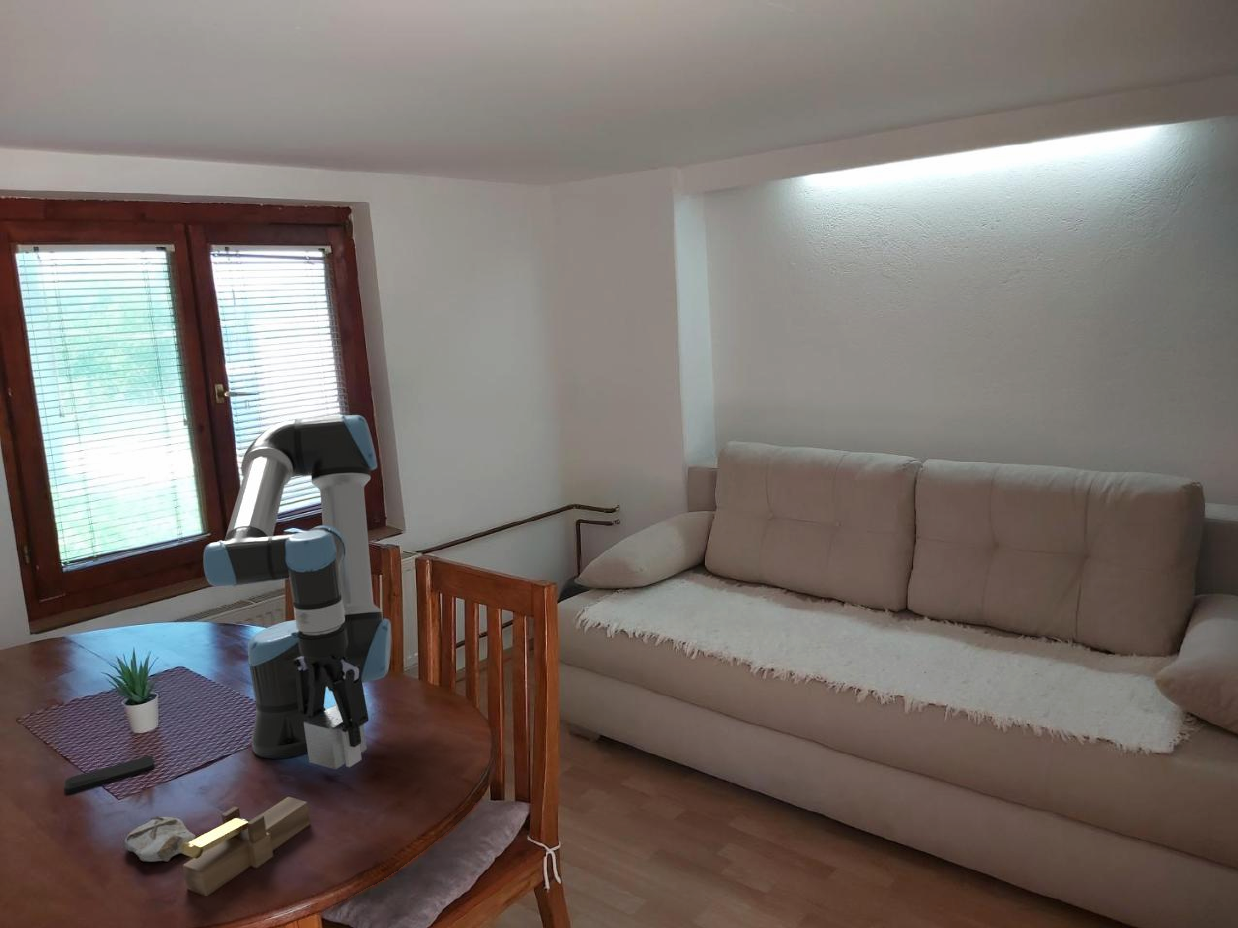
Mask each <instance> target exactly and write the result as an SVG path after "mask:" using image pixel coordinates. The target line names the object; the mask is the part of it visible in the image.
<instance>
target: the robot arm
mask: <svg viewBox="0 0 1238 928" xmlns="http://www.w3.org/2000/svg"><path fill="white" fill-rule="evenodd" d="M375 469H378V461H377V456H376V450H375V447H374V443H373V438H372V434H371V432H370V428H369V423H368V422H367V420H366V418H365V417H364V416H362V415H359V414H351V415H350V414H349V415H348V414H347V415H344V414H340V415H333V416H331V415H330V416H323V417H322V416H321V417H314V418H303V419H302V418H301V419H299V418H298V419H288V420H285V421H282V422H278V423H277V424H275V425H273V426H271V427H269V428H268V429H266V430H265V431H263V432H262V433H260V435H259V436H257V438H255V439H254V440H253V442H252V443H251V444H250V445H249V446H248V448H247V450H246V451H245V453H244V456H243V458H242V462H241V466H240V470H241V474H242V476H243V478H242V481H241V484H240V487H239V491H238V494H237V497H236V500H235V505H234V507H233V511H232V514H231V518H230V522H229V524H228V528H227V532H226V535H225V538H224V540H219V541H217V542H216V541H215V542H210V543H209V544H207V545H206V546H205V547H204V549H203V550H204V551H203V556H202V557H203V570H204V575H205V579H206V580H207V582H208V583H209V585H211V586H213V587H227V586H229V587H230V586H232V587H237V586H241V585H249V584H258V583H265V582H273V581H284V580H289V583H290V592H291V596H292V597H291V598H292V606H293V611H294V619H293V620H287V621H283V622H279V623H275V624H273V625H271V626H269V627H267V628H264V629H262V630H260V631H259V632H258V633H256V634H254V636H252V637H251V638H250V640H249V641H248V644H247V654H248V660H247V661H248V662H247V664H248V666H249V669H250V677H251V684H252V689H253V695H254V701H255V703H254V704H255V707H256V708H255V710H256V712H255V718H254V724H253V725H254V726H253V731H252V733H251V738H250V739H251V746H252V751H253V752H254V754H255V755H256V756H257V757H261V758H265V759H273V760H274V759H276V760H277V759H288V758H292V757H298V756H300V755H304V754H308V750H307V743H306V736H305V729H304V722H306V721H308V720H309V719H311V718H313V717H315V716H316V715H318V714H320V713H322V712H323V711H325V710H327V709H326V708H325V699H326V691H327V689H328V691H329V692H332V696H333V698H334V701H335V703H336V704H335V705H337V707H338V709H339V712H340V715H341V718H342V720H343V723H344V726H345V727H344V728H343V729H342V738H343V745H344V753H345V760H346V763H345V767H347V768H351V767H352V766H354V765H356V764H357V763H359V762H360V761H362V753H361V751H360V744H361V736H360V728H359V727H360V726H361V725H363V724H366V723H367V722H369V720H370V719H369V713H368V707H367V702H366V697H365V691H364V686H363V685H364V684H365V683H366V682H372V681H377V680H381V679H383V678H385V676H386V675H387V674H388V671H389V667H390V660H391V649H392V648H391V647H392V632H391V631H392V629H391V628H392V626H391V625H392V624H391V620H390V619H387V618H383V611H382V609H380V608H379V607H378V606H376V605H375V603H374V596H373V585H372V573H371V572H372V570H371V561H370V560H371V559H370V548H369V536H368V535H369V533H368V522H367V513H366V512H367V511H366V501H365V500H366V498H365V486H366V485H367V484H368V482H369V481H370V480H371V471H374V470H375ZM306 476H307V477H308V476H310V477H311V484H312V485H313V486H314V487H316V488H317V489H318V490H319V491H320V492H319V493H320V504H321V505H320V506H321V520H322V521H321V522H322V525H318V526H314V527H313V528H311V529H309V530H307V531H302V532H299V533H296V532H295V533H289V534H280V535H278V534H277V535H274V532H275V527H276V524H277V518H278V514H279V511H280V506H281V501H282V497H283V492H284V487H285V486H286V485H287V484H288V483H289V482H290V481H291V479H292V478H295V477H306ZM326 688H327V689H326ZM351 719H352V720H351ZM350 720H351V721H350Z"/></svg>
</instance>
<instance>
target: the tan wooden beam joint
mask: <svg viewBox="0 0 1238 928" xmlns="http://www.w3.org/2000/svg"><path fill="white" fill-rule="evenodd" d="M240 814H241V812H240V808H239V807H238V806H233V807H231V808H230V809H228V810H227V811H225V812H223V813H222V814H221V819H222V825H223V824H225V823H227V822H229V821H231V820H233V818H234V817H235V816H238V817H241V815H240ZM310 825H311V819H310V813H309V807H308V801H305V800H301V799H297V798H294V797H291V796H287V797H286V798H284V799H282V800H281V801H279V802H278V803H276V804H274V805H273V806H271V807H270V808H269V809H266V811H264V812H262V813H261V814H258V815H256V816H255V817H253V818H252V819H251V820H250V821H249V822H247V828H248V829H246V830H244V831H242V832H240V833H239V834H237V835H235V836H233V837H231V838H229V839H227V840H226V841H224V842H222V843H220V844H218V845H216V846H214V847H213V848H211V849H209V850H207V851H205V852H203V853H202V855H201V856H200V857H199V858H197V859H196V858H193V857H192V858H191V859H190V860H189V861H187V862H185V863H184V864H182V868H183V872H184V874H183V875H184V877H185V885H186V890H189V891H191V892H193V893H196V894H199V895H201V896H204V897H206V898H207V897H208V896H210V895H211V894H213V893H214V892H215V891H217V890H218V889H220V888H222V887H223V886H224V885H225V884H227V883H228V882H230V881H231V880H233V879H234V878H236V877H237V876H238V875H240V874H241V873H242V872H244V871H246V870H247V869H248V868H249V867H253V868H255V869H257V868H260V866H262V865H263V864H265V863H267V862H268V861H269V860H271V858H273V857H274V850H276V849H277V848H278V847H280V846H281V845H282V844H284V843H285V842H288V840H290V839H291V838H293V837H294V836H295V835H297V834H298V833H299V832H301V831H302V830H304V829H305V828H307V827H308V826H310Z"/></svg>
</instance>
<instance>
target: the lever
mask: <svg viewBox="0 0 1238 928" xmlns="http://www.w3.org/2000/svg"><path fill="white" fill-rule="evenodd" d="M249 821H250V820H249V819H246V818H244V817H241V816H240V817H238V816H235V817H234V818H233V820H231V821H229V822H227V823H225V824H223V823H222V824H221V825H220V826H218V827H216V828H214V829H212V830H210V831H208V832H207V833H204V834H202V835H200V836H199V837H197V838H195V840H193V841H191V842H189V843H188V842H184V843H182V844H181V845H180V847H179V852H180V853H179V854H182V855H185V856H188V857H190V858H192V859H193V858H196V859H197V858H199V857H200V856H201V855H202V853H203V852H205V851H207V850H209V849H211V848H213V847H214V846H216V845H218V844H220V843H222V842H224V841H226V840H227V839H229V838H231V837H233V836H235V835H237V834H239V833H240V832H242V831H244V830H246V829H248V828H247V822H249Z"/></svg>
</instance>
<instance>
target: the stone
mask: <svg viewBox="0 0 1238 928" xmlns="http://www.w3.org/2000/svg"><path fill="white" fill-rule="evenodd" d="M196 837H197V836H196V835H195V834H194V833H192V832H190V830H188V829H187V827H186V825H185V824H184V822H183V821H182V820H181V819H179V818H176V817H171V816H169V817H168V816H155V817H151V818H150V820H149V821H148V822H147V823H144V824H142V825H140V826H137V827H135V828H134V829H133V830H131V831H130V832H129V834H128V835H127V836H126V837H125V841H124V848H125V849H126V850H127V851H128V852H132V853H135V855H137V857H139V860H141V861H142V862H165V863H166V862H169V861H170V860H171V858H172V857H174V856H176V855H178V854H181V853H180V852H179V847H180V845H181V844H182V843H184V842H188V843H189V842H191V841H193V840H195V839H197V838H196Z"/></svg>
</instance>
